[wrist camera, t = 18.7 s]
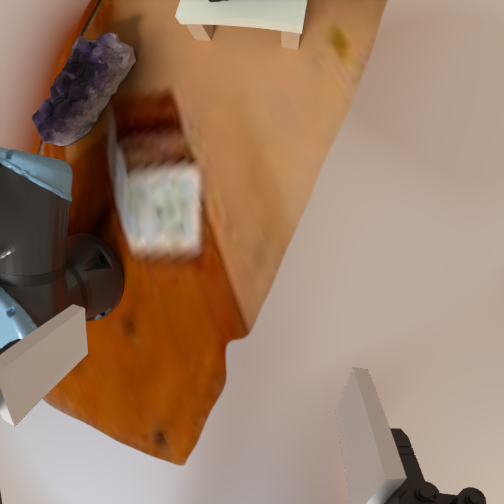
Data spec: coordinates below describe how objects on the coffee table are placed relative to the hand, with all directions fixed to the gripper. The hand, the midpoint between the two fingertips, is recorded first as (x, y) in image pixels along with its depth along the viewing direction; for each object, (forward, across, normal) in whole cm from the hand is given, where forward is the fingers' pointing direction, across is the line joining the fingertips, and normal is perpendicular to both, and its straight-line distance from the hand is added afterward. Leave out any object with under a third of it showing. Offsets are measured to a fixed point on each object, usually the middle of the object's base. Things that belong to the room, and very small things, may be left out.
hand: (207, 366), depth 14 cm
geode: (+33, -31, +19) cm, 49 cm away
